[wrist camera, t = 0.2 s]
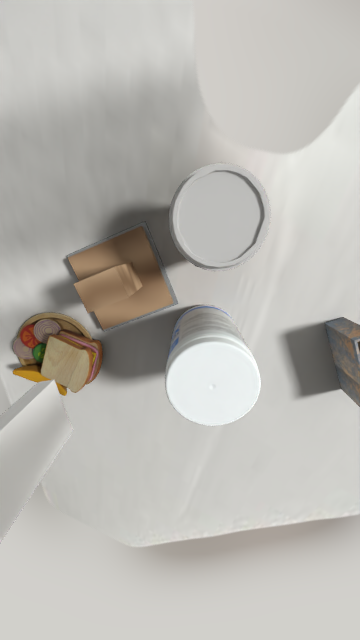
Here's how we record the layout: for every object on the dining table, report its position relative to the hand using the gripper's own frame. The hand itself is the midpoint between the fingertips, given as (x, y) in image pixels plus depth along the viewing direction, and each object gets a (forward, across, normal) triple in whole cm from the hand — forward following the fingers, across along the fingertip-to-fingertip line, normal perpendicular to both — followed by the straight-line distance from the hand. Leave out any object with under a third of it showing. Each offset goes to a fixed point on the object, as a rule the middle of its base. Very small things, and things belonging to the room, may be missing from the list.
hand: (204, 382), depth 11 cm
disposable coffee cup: (+27, +3, +7) cm, 28 cm away
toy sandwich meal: (+28, -22, -5) cm, 36 cm away
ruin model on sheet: (+28, +19, -14) cm, 37 cm away
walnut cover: (+27, -10, +3) cm, 29 cm away
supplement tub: (+27, 0, -7) cm, 28 cm away
